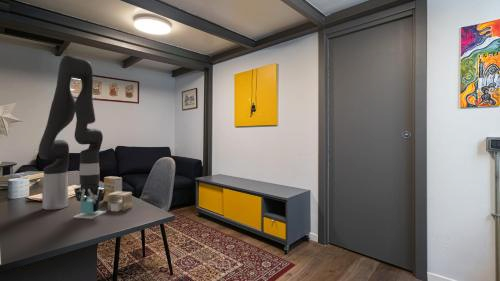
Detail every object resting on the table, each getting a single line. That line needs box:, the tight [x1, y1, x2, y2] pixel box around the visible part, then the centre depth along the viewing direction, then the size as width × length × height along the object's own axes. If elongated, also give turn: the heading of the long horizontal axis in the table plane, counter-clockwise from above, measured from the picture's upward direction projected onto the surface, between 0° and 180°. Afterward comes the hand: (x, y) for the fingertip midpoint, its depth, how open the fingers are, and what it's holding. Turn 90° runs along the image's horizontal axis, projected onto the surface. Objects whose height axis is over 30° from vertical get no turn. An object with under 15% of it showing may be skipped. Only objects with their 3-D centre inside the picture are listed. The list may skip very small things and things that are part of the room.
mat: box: [72, 210, 107, 220], centre depth 110 cm, size 9×9×1 cm
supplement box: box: [103, 175, 123, 203], centre depth 131 cm, size 8×5×13 cm, turn 68°
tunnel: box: [107, 191, 133, 212], centre depth 119 cm, size 8×6×8 cm
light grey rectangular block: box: [110, 200, 122, 212], centre depth 119 cm, size 4×9×4 cm, turn 171°
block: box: [80, 198, 100, 214], centre depth 109 cm, size 5×5×5 cm
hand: (90, 210), depth 110 cm, fingers closed on block, 5 cm apart
